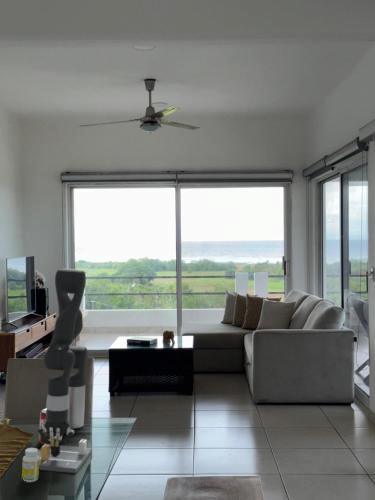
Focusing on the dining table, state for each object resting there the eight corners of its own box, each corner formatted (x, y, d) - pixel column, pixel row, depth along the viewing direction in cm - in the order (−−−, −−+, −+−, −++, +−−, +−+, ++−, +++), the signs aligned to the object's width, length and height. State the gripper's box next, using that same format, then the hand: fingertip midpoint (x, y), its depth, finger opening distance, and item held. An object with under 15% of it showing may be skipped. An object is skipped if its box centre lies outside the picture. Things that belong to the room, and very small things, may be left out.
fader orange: (44, 456, 208) (44, 443, 208) (49, 457, 208) (50, 444, 208) (40, 460, 205) (41, 446, 205) (46, 460, 204) (47, 447, 204)
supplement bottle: (27, 484, 188) (29, 454, 188) (18, 478, 192) (19, 449, 192) (42, 479, 193) (43, 450, 192) (32, 474, 196) (33, 445, 196)
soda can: (53, 445, 223) (54, 414, 223) (35, 443, 225) (37, 412, 225) (61, 439, 231) (62, 409, 230) (44, 437, 232) (45, 407, 232)
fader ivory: (81, 451, 215) (81, 438, 215) (86, 451, 215) (86, 439, 214) (78, 454, 211) (78, 441, 211) (83, 455, 211) (84, 442, 211)
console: (44, 448, 221) (45, 443, 221) (91, 452, 219) (92, 447, 219) (24, 468, 201) (24, 463, 201) (76, 473, 199) (76, 468, 199)
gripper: (79, 405, 209) (76, 454, 209) (42, 402, 210) (40, 450, 210) (72, 411, 201) (70, 462, 201) (35, 408, 202) (33, 458, 203)
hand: (55, 456), depth 206 cm, fingers closed
